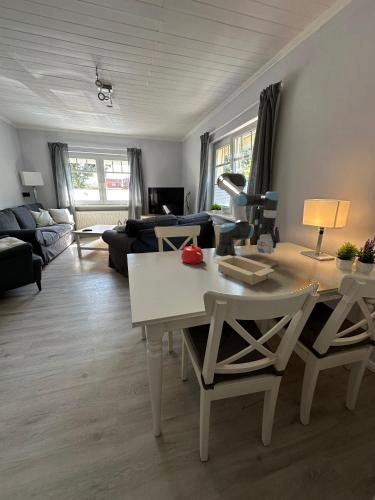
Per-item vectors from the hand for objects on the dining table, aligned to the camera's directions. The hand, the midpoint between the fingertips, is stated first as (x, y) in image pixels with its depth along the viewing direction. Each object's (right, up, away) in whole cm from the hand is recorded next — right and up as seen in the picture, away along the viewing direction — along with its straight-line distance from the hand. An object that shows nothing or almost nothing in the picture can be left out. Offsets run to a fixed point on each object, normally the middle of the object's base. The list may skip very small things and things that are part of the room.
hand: (265, 250), depth 141 cm
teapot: (-49, -7, +7) cm, 50 cm away
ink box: (0, -1, 0) cm, 1 cm away
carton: (-19, -14, -14) cm, 28 cm away
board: (0, -9, +3) cm, 10 cm away
